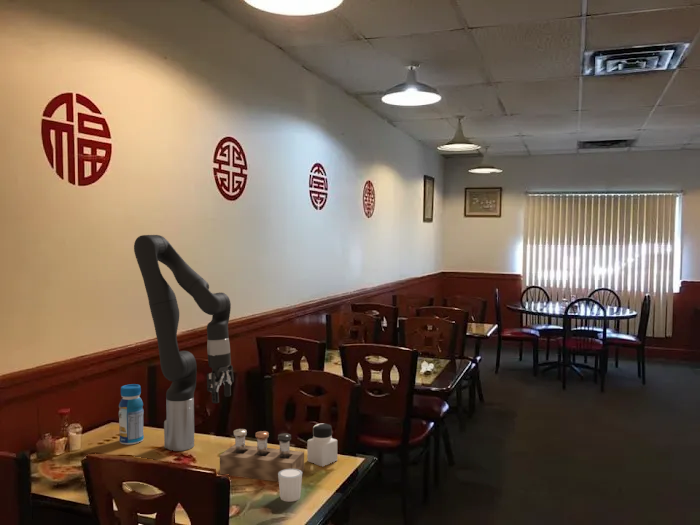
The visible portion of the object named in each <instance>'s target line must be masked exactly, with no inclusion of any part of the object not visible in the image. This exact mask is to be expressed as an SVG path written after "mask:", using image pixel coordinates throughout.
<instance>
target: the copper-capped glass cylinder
mask: <svg viewBox="0 0 700 525" xmlns="http://www.w3.org/2000/svg"><path fill="white" fill-rule="evenodd" d="M269 434H270V433H269V431H266V430H263V431H262V430H260V431H257V432H255V438H256V442H257V444H256V445H257V446H256V447H257V456H267V448H268V438H269V436H270V435H269Z"/></svg>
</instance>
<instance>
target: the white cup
mask: <svg viewBox="0 0 700 525" xmlns="http://www.w3.org/2000/svg"><path fill="white" fill-rule="evenodd" d="M278 479H279V482H278V486H279V498H280V500H281V501H283V502H289V503H290V502H296V501H299V500H300V499H301V494H302V492H301V491H302V481H303V472H302V471H301V470H298V469H284V470H281V471H280V472H279V473H278Z"/></svg>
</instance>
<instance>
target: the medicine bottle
mask: <svg viewBox="0 0 700 525" xmlns="http://www.w3.org/2000/svg"><path fill="white" fill-rule="evenodd" d="M332 427H333V426H332V425H330V424H329V423H317V424H315V425H314V426H313V427H312V435H313V436H312V438H309V439H308V440H307V446H306V447H307V449H306V450H307V453H306V454H307V462H309V463H312V464H313V463H314V465H317V466H319V467H321V466H322V468H323V467H326V466H329V465H330V463H331V464H333V463H336V462H338V439H336V438H333V436H332V435H333V434H332V433H333V431H332ZM335 461H336V462H335ZM332 462H333V463H332ZM325 465H326V466H325Z"/></svg>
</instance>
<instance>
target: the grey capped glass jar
mask: <svg viewBox="0 0 700 525" xmlns="http://www.w3.org/2000/svg"><path fill="white" fill-rule="evenodd" d="M291 440H292V434H290V433H288V432H283V433H279V434H277V441H278V442H279V449H280V458H284V459H289V458H290V452H289V450H290V441H291Z"/></svg>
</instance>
